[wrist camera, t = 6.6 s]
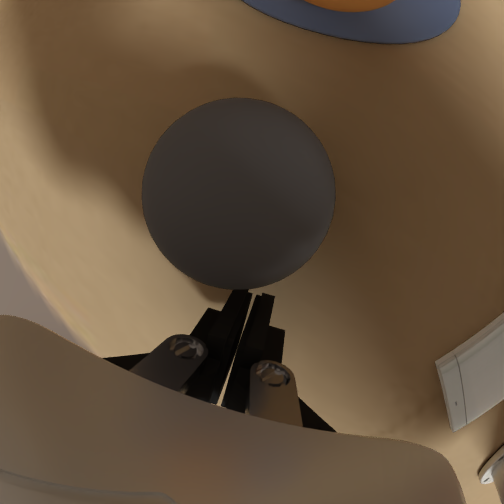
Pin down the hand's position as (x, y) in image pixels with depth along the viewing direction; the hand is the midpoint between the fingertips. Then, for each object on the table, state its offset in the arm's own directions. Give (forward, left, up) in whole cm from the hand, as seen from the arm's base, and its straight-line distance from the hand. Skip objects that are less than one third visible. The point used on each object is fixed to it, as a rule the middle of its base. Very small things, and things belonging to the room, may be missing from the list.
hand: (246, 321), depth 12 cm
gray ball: (+1, -5, +2) cm, 6 cm away
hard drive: (-18, -1, -2) cm, 18 cm away
